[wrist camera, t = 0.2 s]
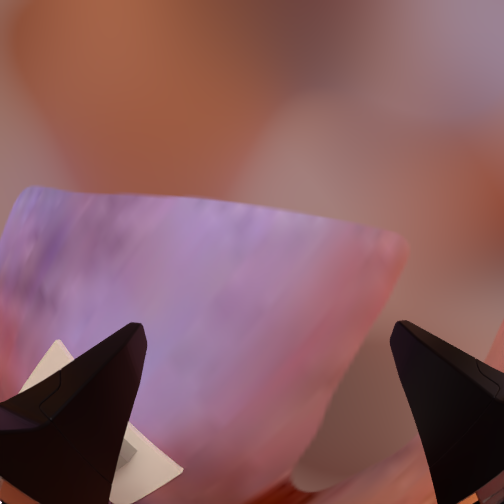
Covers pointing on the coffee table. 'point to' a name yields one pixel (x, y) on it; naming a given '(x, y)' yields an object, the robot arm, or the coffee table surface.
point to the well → (133, 447)
